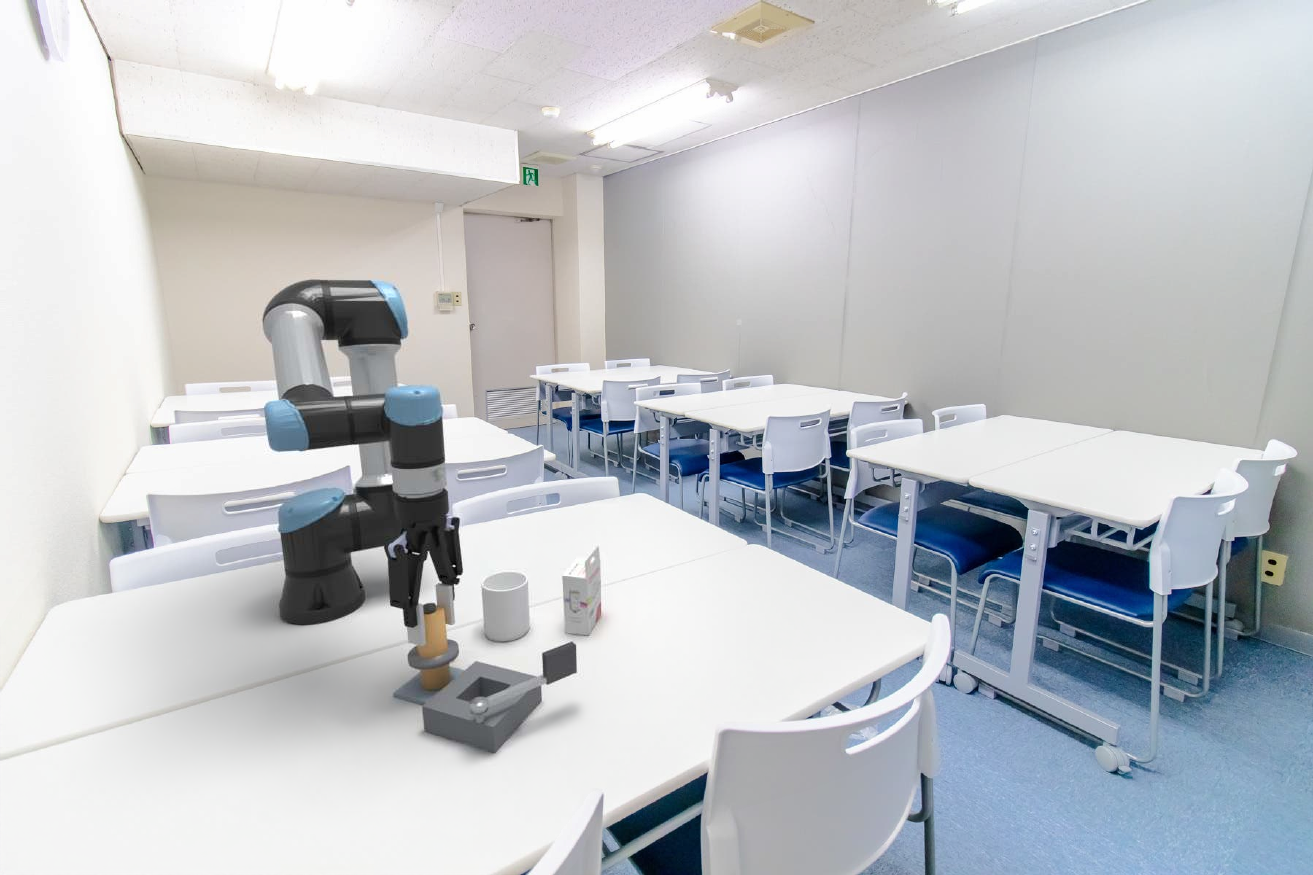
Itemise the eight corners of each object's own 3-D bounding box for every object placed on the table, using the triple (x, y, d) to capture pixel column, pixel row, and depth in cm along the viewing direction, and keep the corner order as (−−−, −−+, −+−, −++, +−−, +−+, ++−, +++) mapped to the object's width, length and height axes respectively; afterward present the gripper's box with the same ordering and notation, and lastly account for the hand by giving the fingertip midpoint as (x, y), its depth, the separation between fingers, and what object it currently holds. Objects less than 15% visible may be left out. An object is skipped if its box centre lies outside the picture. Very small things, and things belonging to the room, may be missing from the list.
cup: (483, 645, 108) (480, 592, 106) (486, 612, 120) (483, 565, 118) (530, 639, 110) (528, 588, 108) (529, 608, 122) (527, 561, 119)
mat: (393, 696, 94) (393, 692, 94) (433, 665, 102) (433, 661, 102) (440, 709, 91) (440, 706, 91) (478, 676, 99) (477, 673, 99)
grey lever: (467, 709, 83) (465, 679, 82) (570, 666, 92) (569, 639, 91) (474, 718, 81) (472, 688, 80) (578, 674, 91) (578, 646, 90)
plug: (400, 690, 94) (391, 612, 92) (434, 665, 101) (426, 592, 99) (439, 699, 92) (431, 619, 89) (471, 673, 99) (464, 598, 96)
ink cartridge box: (578, 611, 120) (576, 542, 117) (602, 614, 119) (600, 544, 116) (563, 633, 112) (560, 559, 109) (588, 636, 111) (587, 562, 108)
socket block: (424, 730, 86) (421, 698, 85) (477, 683, 97) (475, 654, 96) (494, 752, 82) (492, 719, 81) (541, 700, 93) (540, 670, 92)
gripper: (392, 513, 80) (406, 670, 85) (481, 476, 97) (489, 609, 102) (349, 506, 82) (366, 659, 87) (443, 472, 100) (453, 601, 104)
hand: (432, 632), depth 95 cm, fingers open, 6 cm apart
